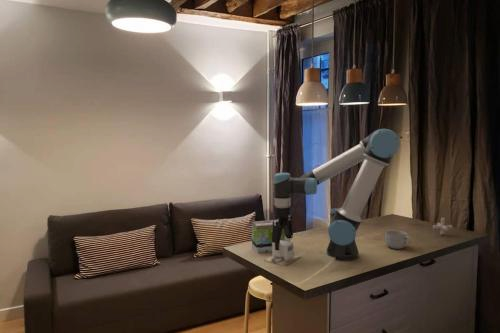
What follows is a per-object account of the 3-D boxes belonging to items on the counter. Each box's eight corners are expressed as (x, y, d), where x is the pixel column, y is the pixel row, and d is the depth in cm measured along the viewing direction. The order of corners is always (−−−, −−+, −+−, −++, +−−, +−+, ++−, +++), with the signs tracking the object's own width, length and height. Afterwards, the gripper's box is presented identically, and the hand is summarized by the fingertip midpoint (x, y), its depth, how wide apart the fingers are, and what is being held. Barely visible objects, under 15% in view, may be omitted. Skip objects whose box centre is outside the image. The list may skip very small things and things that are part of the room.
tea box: (257, 255, 191) (256, 225, 190) (251, 249, 201) (251, 221, 200) (285, 252, 195) (285, 223, 194) (279, 246, 205) (278, 218, 204)
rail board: (301, 259, 185) (301, 253, 184) (286, 268, 173) (286, 262, 173) (280, 254, 192) (280, 249, 191) (264, 262, 180) (264, 257, 180)
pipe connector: (446, 232, 223) (447, 215, 222) (455, 237, 214) (456, 220, 212) (429, 233, 224) (429, 216, 223) (437, 238, 214) (437, 220, 213)
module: (293, 257, 182) (293, 242, 182) (287, 260, 178) (287, 245, 177) (279, 253, 187) (278, 239, 186) (272, 257, 182) (272, 243, 182)
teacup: (380, 245, 203) (380, 230, 202) (397, 243, 206) (397, 228, 206) (398, 253, 190) (399, 237, 189) (416, 250, 193) (417, 235, 193)
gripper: (286, 201, 190) (287, 246, 193) (263, 209, 174) (263, 258, 176) (300, 203, 186) (300, 249, 188) (277, 211, 169) (277, 262, 172)
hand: (282, 254), depth 182 cm, fingers open, 8 cm apart
